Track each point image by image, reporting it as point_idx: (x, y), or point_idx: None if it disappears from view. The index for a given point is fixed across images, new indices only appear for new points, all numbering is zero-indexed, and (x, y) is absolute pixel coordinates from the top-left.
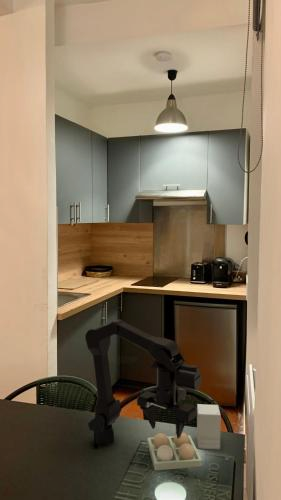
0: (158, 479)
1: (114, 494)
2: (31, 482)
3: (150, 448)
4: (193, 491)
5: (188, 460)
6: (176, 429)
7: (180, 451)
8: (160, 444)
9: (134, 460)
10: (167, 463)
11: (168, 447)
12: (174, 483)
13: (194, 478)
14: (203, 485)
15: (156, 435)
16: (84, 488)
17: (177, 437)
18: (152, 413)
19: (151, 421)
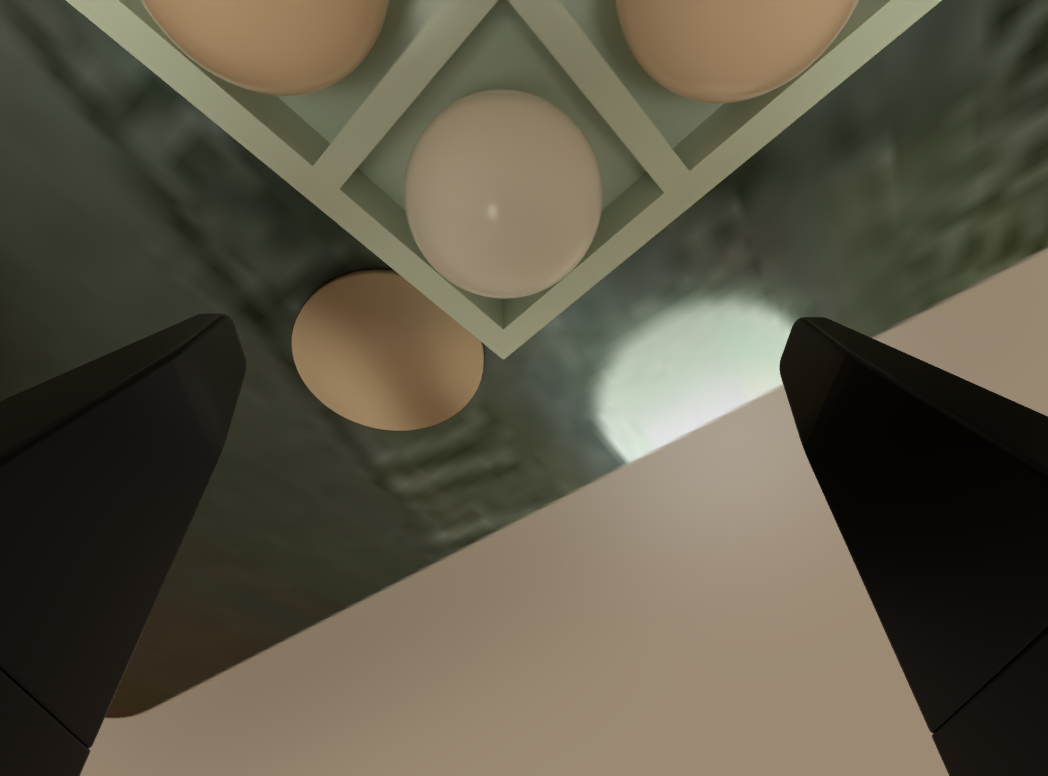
0: (568, 347)
1: (438, 555)
2: None
3: (273, 167)
4: (859, 308)
5: (794, 105)
6: (877, 587)
7: (684, 92)
8: (338, 79)
9: (245, 274)
10: (595, 281)
11: (550, 219)
12: (695, 317)
13: (839, 164)
14: (934, 201)
15: (163, 7)
16: (290, 594)
17: (793, 390)
18: (18, 641)
19: (178, 522)
